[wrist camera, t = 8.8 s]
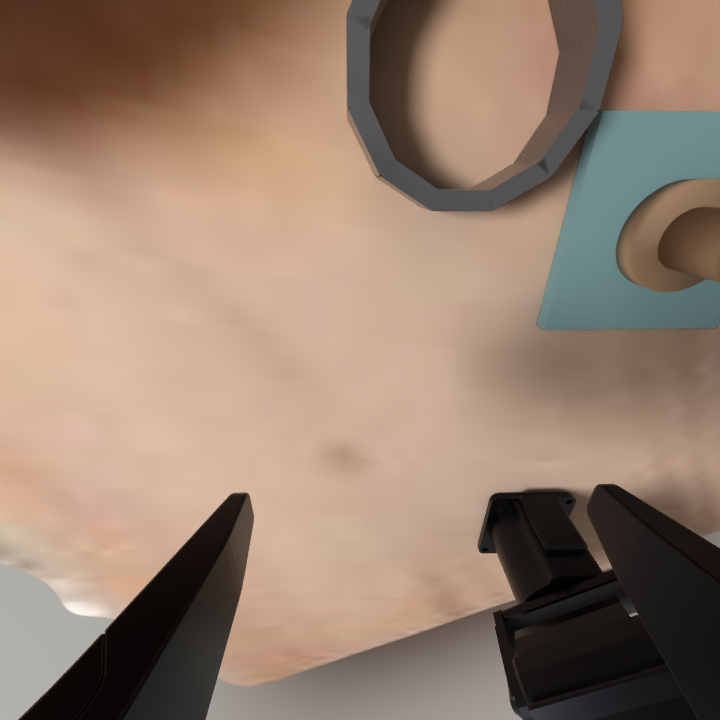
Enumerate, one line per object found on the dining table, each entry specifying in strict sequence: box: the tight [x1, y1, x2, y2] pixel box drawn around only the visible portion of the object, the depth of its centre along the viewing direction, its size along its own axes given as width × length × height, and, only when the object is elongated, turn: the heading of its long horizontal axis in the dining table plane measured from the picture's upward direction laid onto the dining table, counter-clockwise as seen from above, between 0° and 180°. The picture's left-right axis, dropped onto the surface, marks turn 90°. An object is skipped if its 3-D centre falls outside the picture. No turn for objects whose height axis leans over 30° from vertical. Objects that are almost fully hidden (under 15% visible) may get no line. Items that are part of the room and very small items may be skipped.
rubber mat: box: [536, 110, 720, 330], centre depth 17 cm, size 10×10×1 cm
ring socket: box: [347, 0, 624, 211], centre depth 13 cm, size 10×10×2 cm
